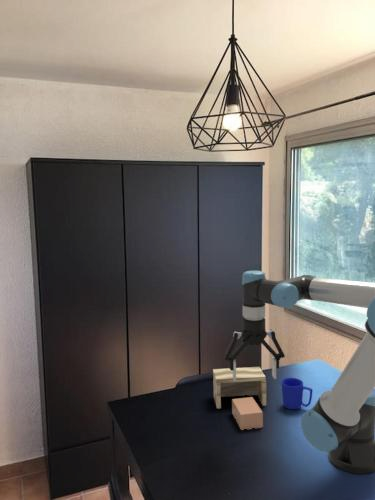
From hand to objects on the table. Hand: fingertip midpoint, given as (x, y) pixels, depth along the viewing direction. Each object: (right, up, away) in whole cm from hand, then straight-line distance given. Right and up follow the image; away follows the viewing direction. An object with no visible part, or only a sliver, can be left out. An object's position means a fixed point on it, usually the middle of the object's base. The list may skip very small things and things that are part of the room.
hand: (254, 378), depth 148 cm
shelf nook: (-2, -17, +28) cm, 33 cm away
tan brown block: (-1, -20, +13) cm, 23 cm away
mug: (+20, -18, +21) cm, 34 cm away
